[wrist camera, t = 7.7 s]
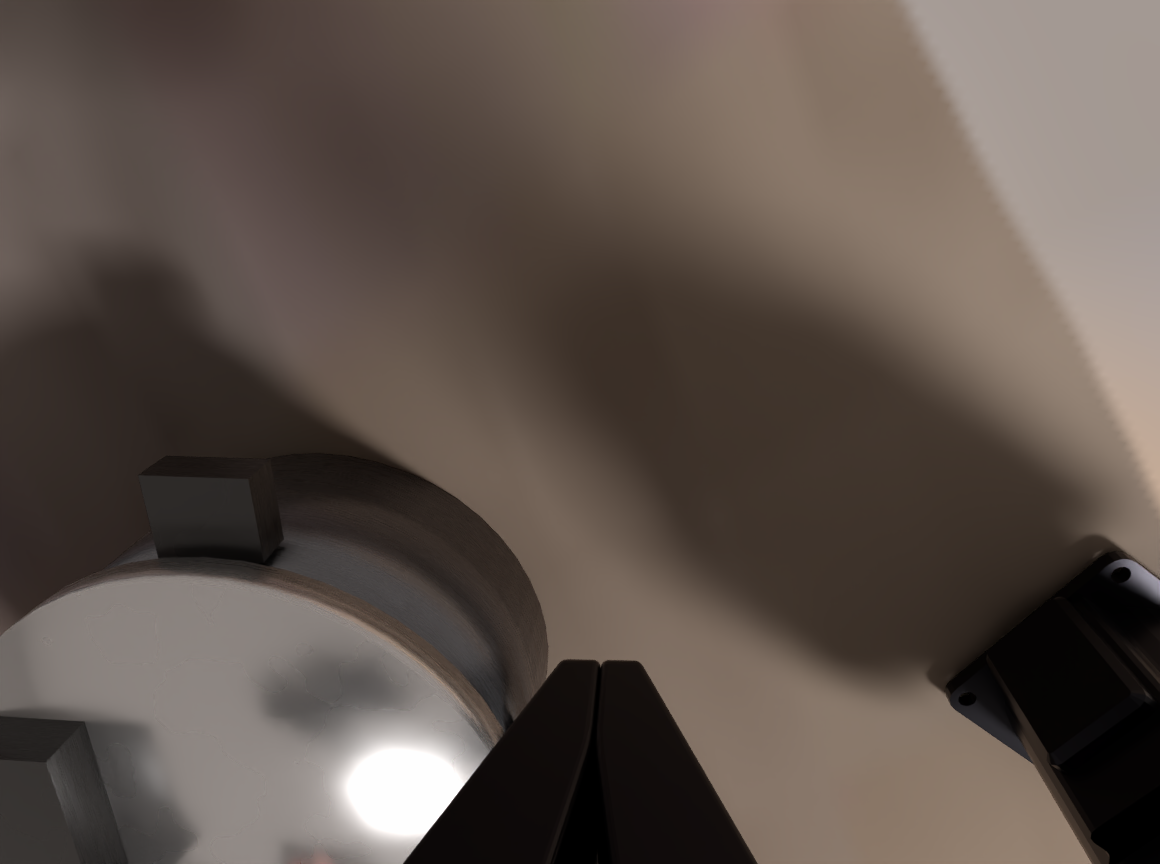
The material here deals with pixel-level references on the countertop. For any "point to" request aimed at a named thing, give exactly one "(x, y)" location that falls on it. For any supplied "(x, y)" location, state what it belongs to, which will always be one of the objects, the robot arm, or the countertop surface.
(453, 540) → the cooker pot
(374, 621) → the cooker lid
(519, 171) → the countertop surface
